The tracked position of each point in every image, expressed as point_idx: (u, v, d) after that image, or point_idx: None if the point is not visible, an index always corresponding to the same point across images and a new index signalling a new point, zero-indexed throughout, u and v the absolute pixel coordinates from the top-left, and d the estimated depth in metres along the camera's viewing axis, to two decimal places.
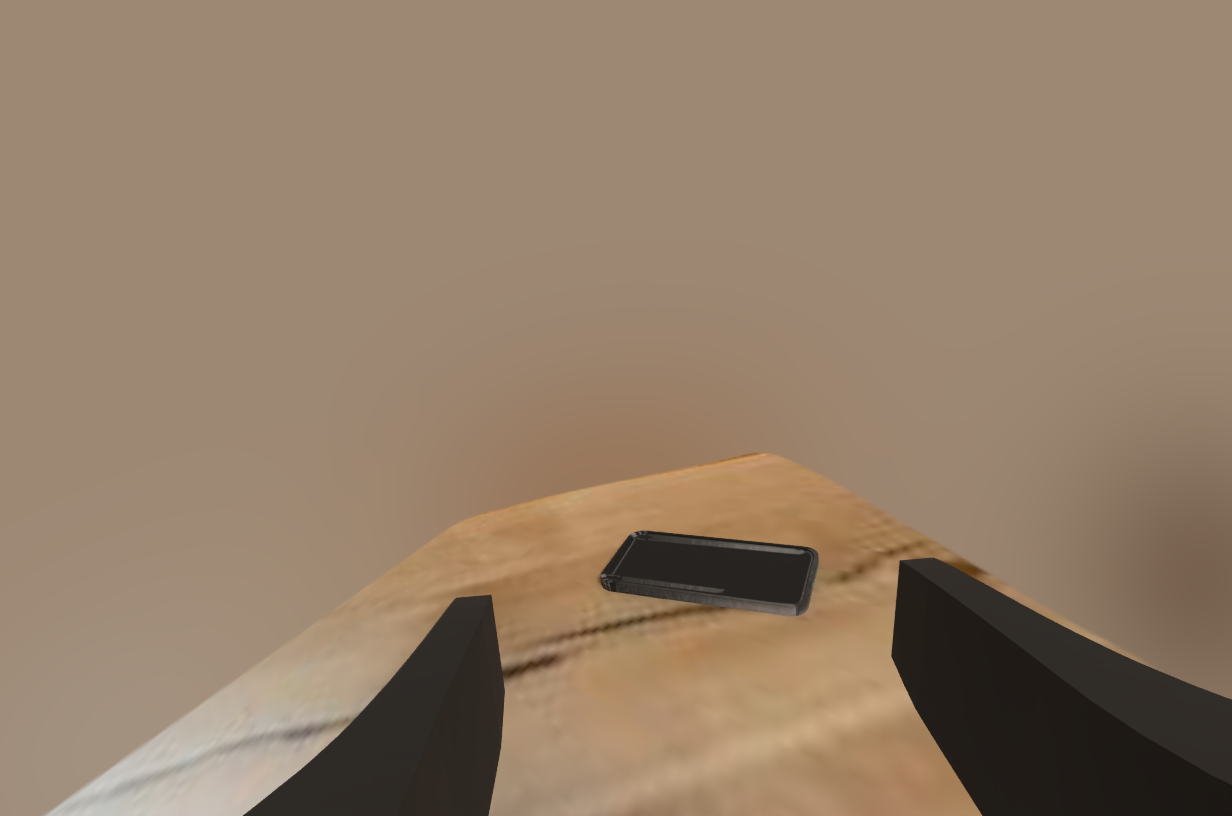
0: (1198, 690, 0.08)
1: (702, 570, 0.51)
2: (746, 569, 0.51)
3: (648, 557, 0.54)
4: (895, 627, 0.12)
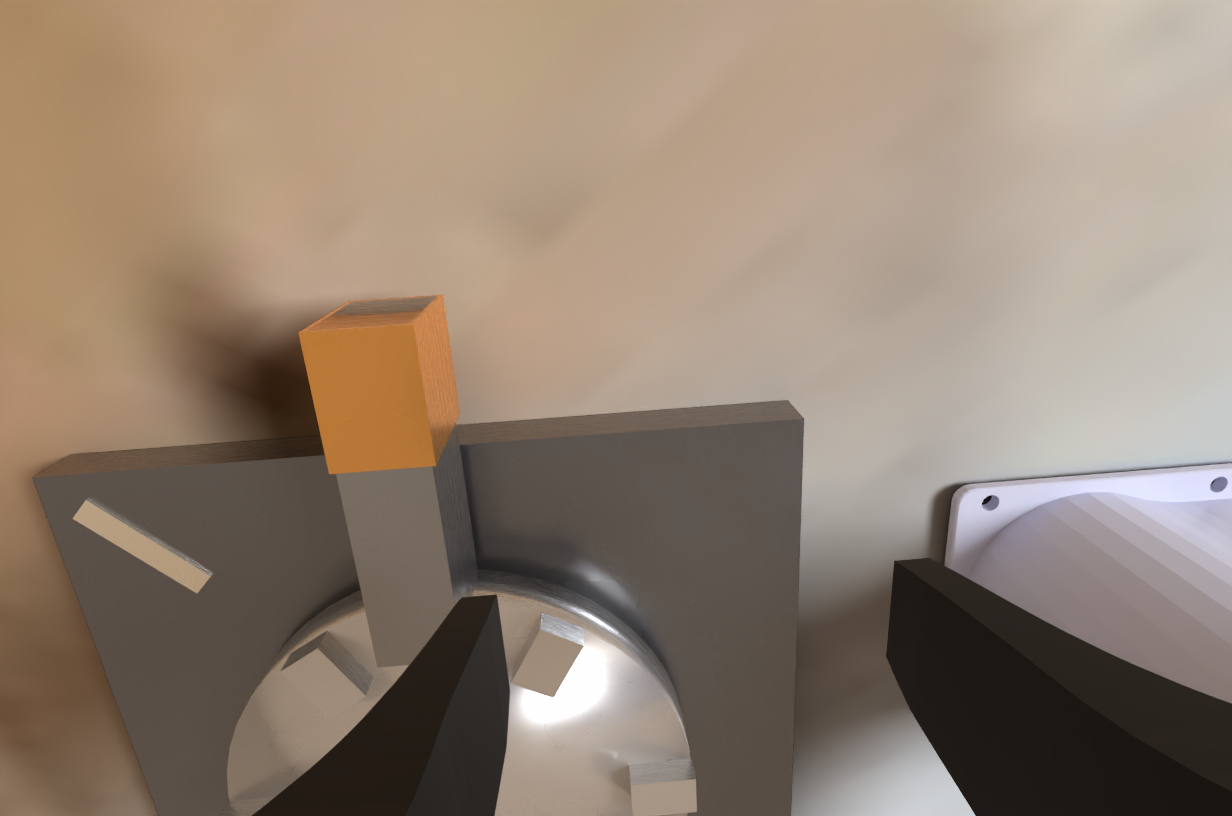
0: (1191, 690, 0.08)
1: None
2: None
3: None
4: (890, 628, 0.12)
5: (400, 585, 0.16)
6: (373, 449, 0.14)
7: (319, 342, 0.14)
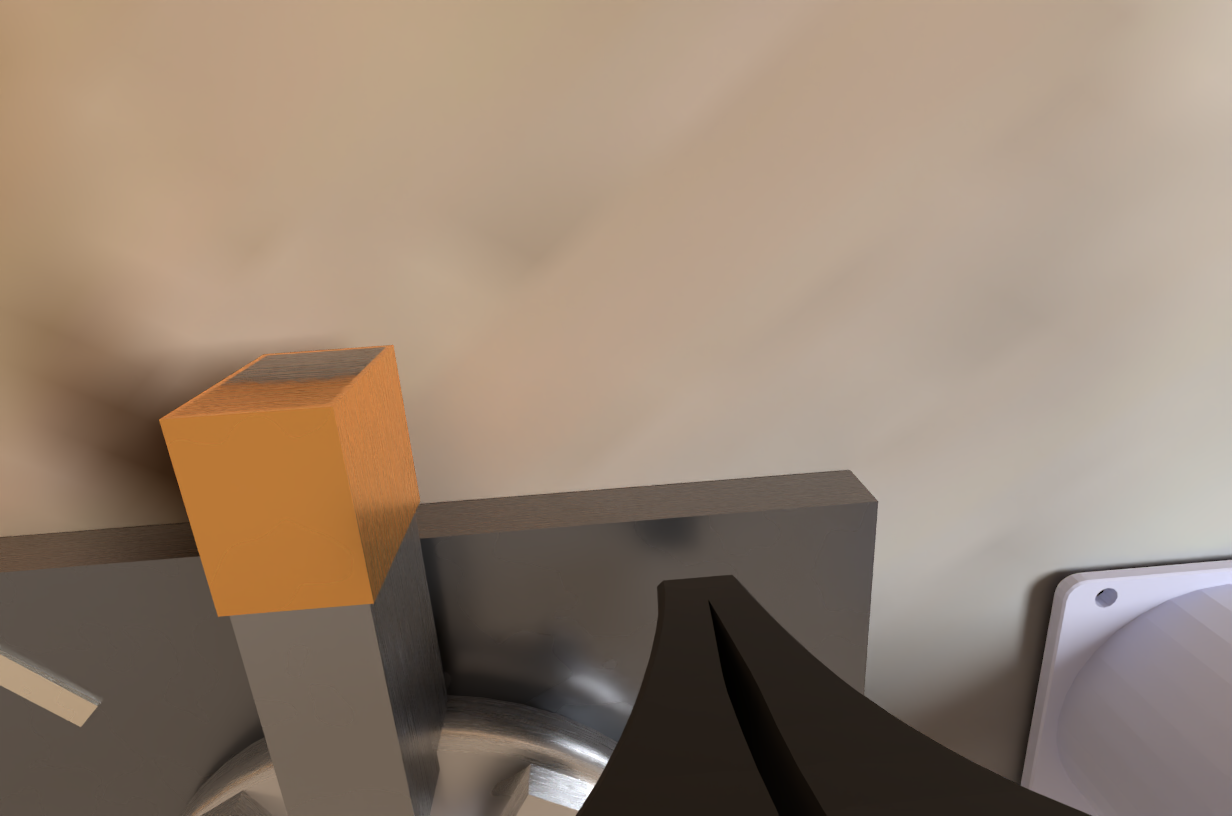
0: (895, 717, 0.08)
1: None
2: None
3: None
4: None
5: (329, 759, 0.11)
6: (281, 582, 0.10)
7: (192, 433, 0.09)
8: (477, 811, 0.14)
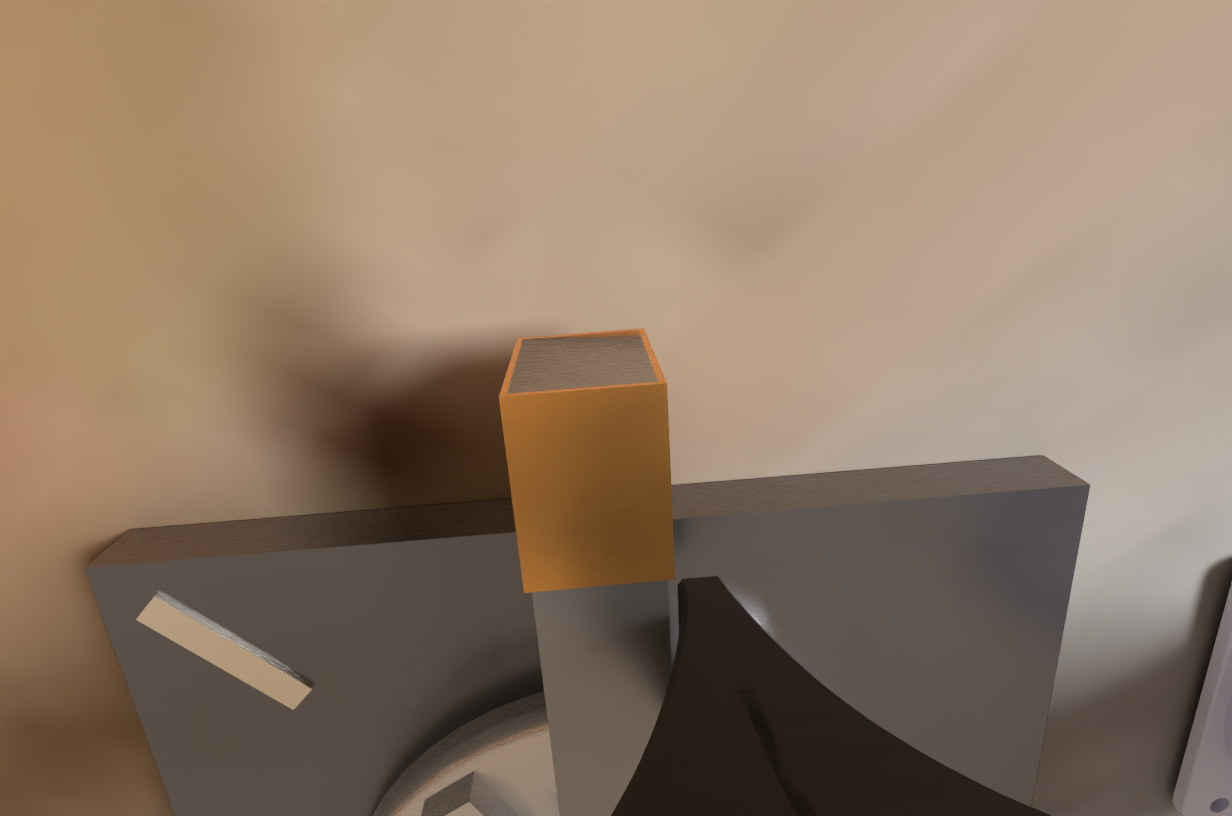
0: (870, 720, 0.08)
1: None
2: None
3: None
4: None
5: (605, 735, 0.11)
6: (589, 558, 0.10)
7: (527, 410, 0.09)
8: None
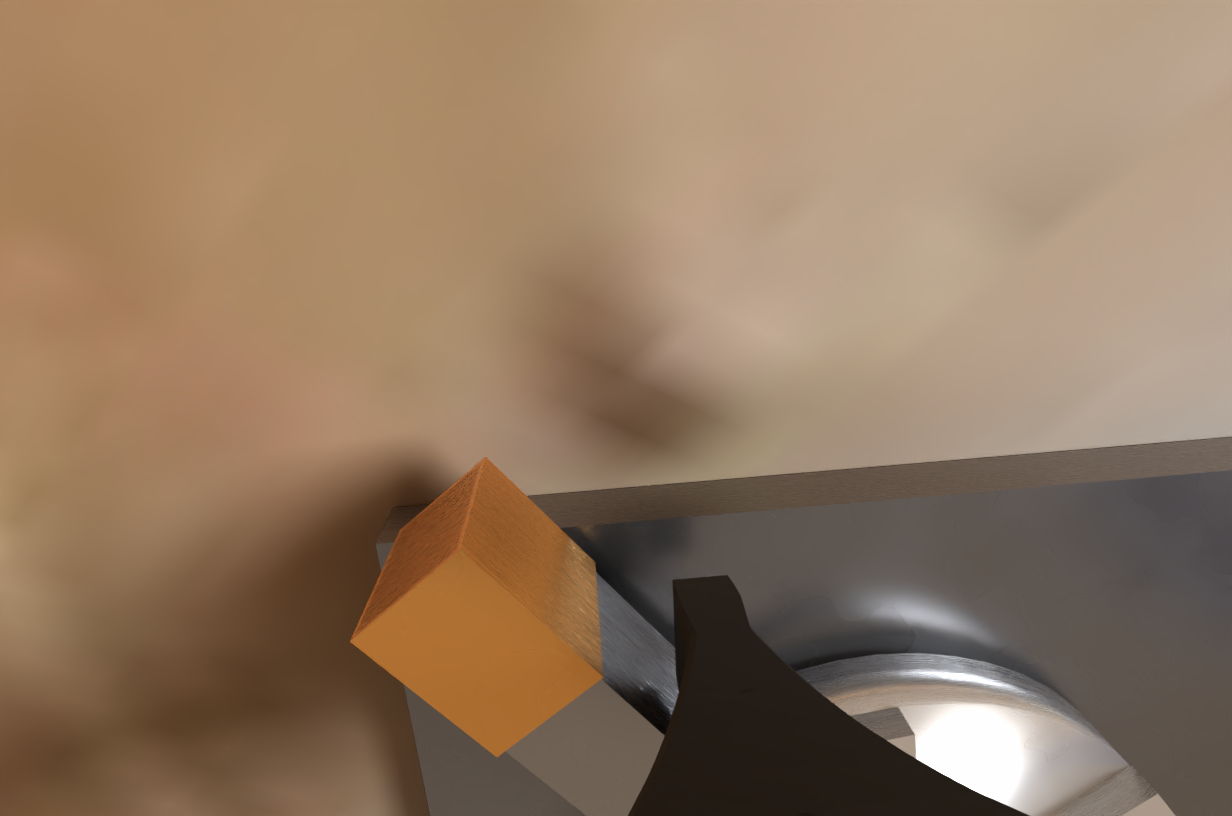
0: (857, 721, 0.08)
1: None
2: None
3: None
4: (675, 646, 0.12)
5: None
6: (522, 704, 0.11)
7: (378, 636, 0.10)
8: None
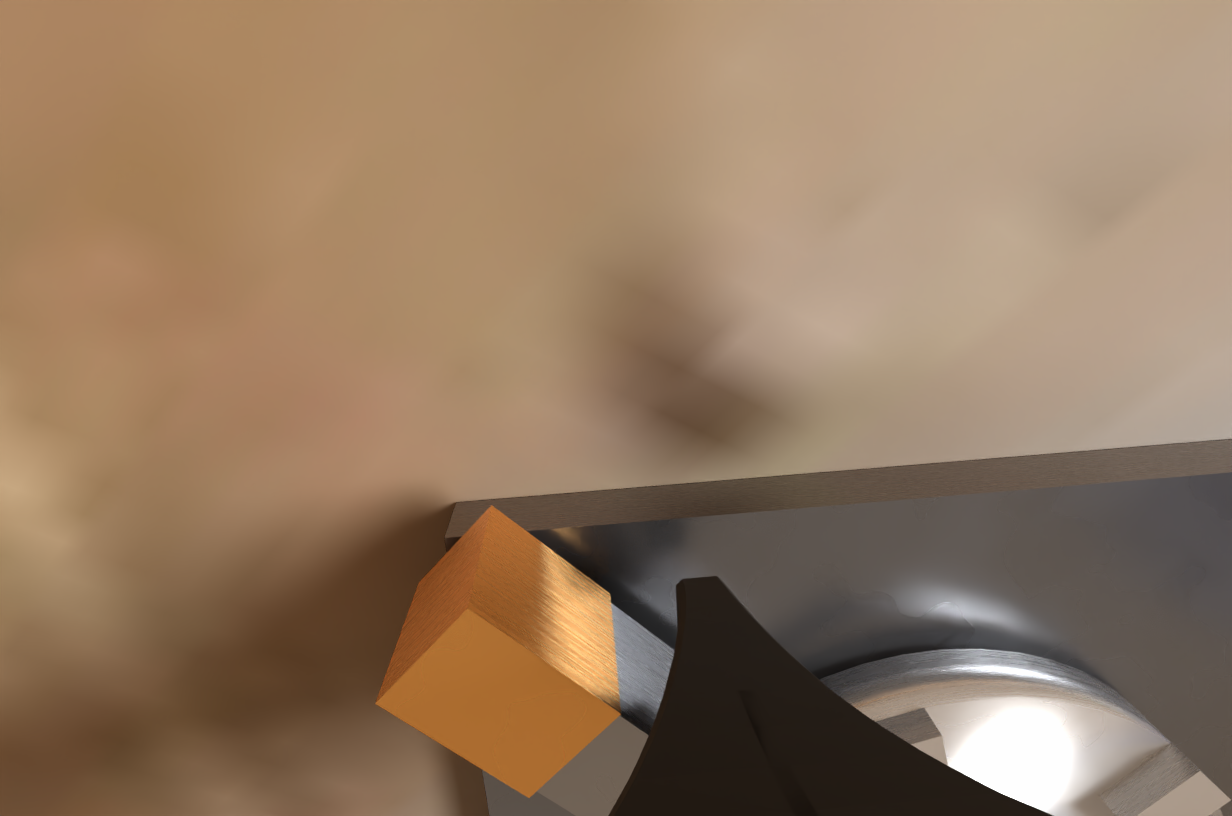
0: (872, 720, 0.08)
1: None
2: None
3: None
4: None
5: None
6: (546, 746, 0.11)
7: (401, 696, 0.10)
8: None
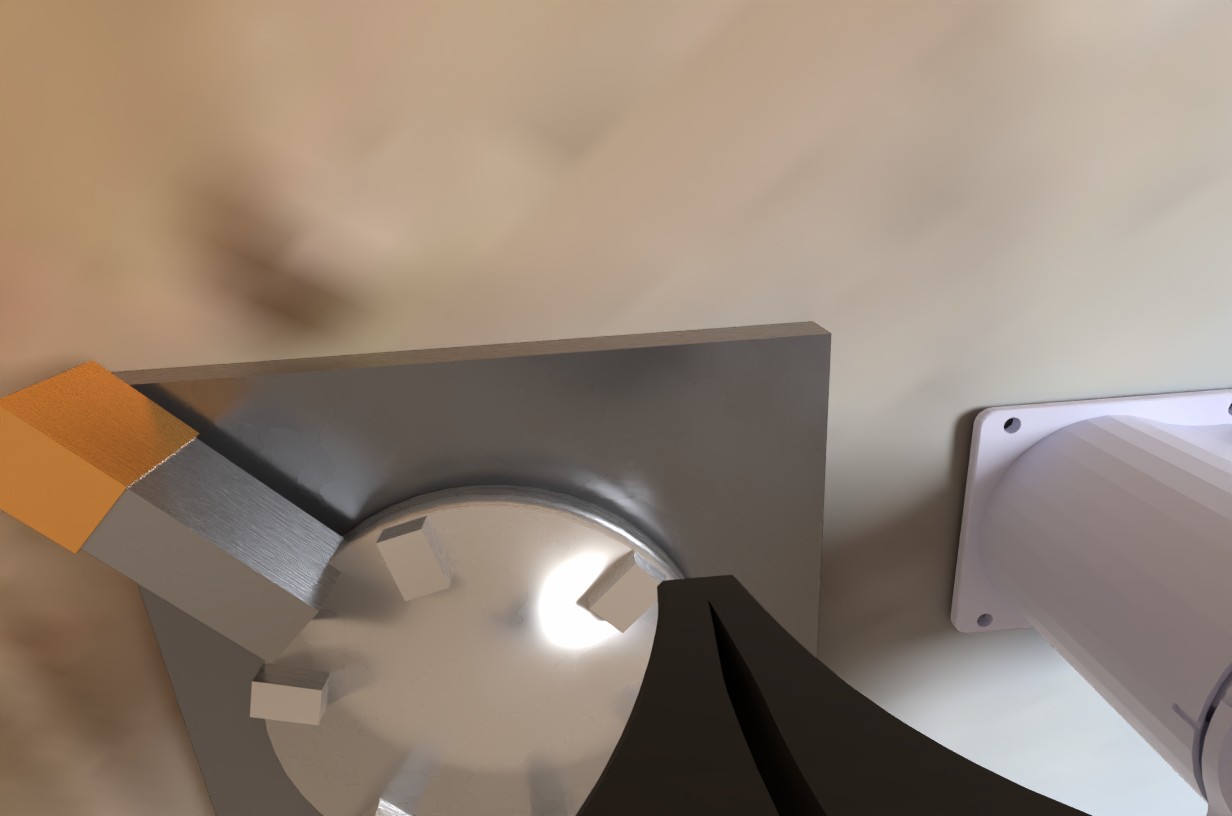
0: (895, 717, 0.08)
1: None
2: None
3: None
4: None
5: (214, 592, 0.16)
6: (77, 511, 0.15)
7: None
8: (390, 582, 0.19)
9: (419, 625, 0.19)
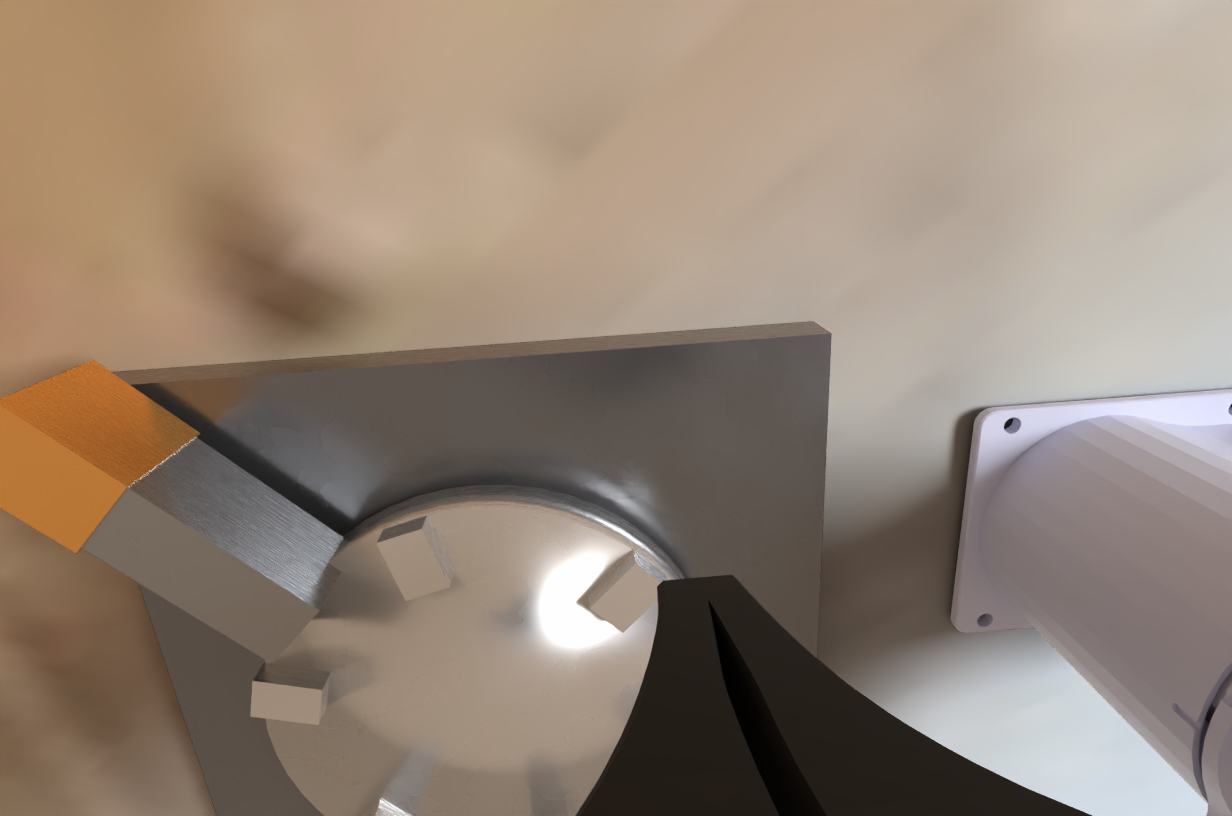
0: (895, 717, 0.08)
1: None
2: None
3: None
4: None
5: (214, 592, 0.16)
6: (78, 511, 0.15)
7: None
8: (390, 582, 0.19)
9: (419, 625, 0.19)
